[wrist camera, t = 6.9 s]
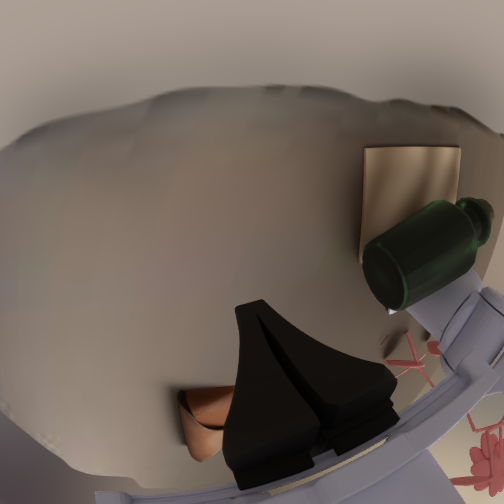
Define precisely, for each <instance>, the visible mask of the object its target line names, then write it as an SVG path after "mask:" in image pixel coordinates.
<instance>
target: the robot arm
mask: <svg viewBox="0 0 504 504" xmlns="http://www.w3.org/2000/svg"><path fill="white" fill-rule="evenodd" d="M405 310H407V311H408V312H409V313H410V314H411V315H412V316H413V317H414V318H415V319H416V320H417V321H418V322H419V323H420V324H421V325H422V326H423V327H424V328H425V329H426V330H427V331H428V332H429V333H430V334H431V335H432V336H433V337H434V338H435V339H436V340H437V341H438V342H439V343H440V344H439V345H438V347H437V348H438V349H439V350H440V351H441V354H440V362H441V367H442V369H443V371H444V372H445V374H446V375H447V376H448V377H447V378H445V379H444V380H443V381H442V382H440V383H439V384H438V385H437V386H435V387H434V388H433V389H432V390H430V391H429V392H428V393H426V394H425V395H423V396H422V397H421V398H420V399H418V400H417V401H415V402H414V403H412V404H411V405H409V406H408V407H406V408H405V409H403V410H402V411H400V412H399V413H396V412H395V410H394V409H393V408H392V406H393V402H392V401H391V399H390V397H391V395H392V393H393V392H394V390H395V388H396V386H397V379H396V378H395V376H394V375H393V374H392V373H391V371H390V370H389V369H388V368H386V367H385V365H384V364H380V363H375V362H371V361H366V360H363V359H359V358H356V357H353V356H350V355H347V354H345V353H342V352H340V351H337V350H335V349H333V348H330V347H328V346H326V345H324V344H322V343H320V342H319V341H317V340H315V339H313V338H312V337H310V336H308V335H307V334H305V333H304V332H302V331H301V330H299V329H298V328H296V327H295V326H294V325H292V324H291V323H290V322H288V321H287V320H286V319H284V318H283V317H282V316H281V315H279V314H278V313H277V312H276V311H275V310H274V309H273V308H271V307H270V306H269V305H268V304H267V303H266V302H265V301H264V300H262V299H260V300H257V301H253V302H250V303H246V304H243V305H239V306H236V308H235V314H236V319H237V324H238V329H239V337H240V346H239V363H238V372H237V378H236V384H235V389H234V393H233V397H232V401H231V405H230V408H229V412H228V415H227V418H226V421H225V423H224V430H223V440H222V450H223V455H224V458H225V461H226V464H227V466H228V467H229V468H230V469H231V470H232V472H233V474H234V477H235V480H236V482H235V483H231V484H227V485H222V486H217V487H212V488H206V489H200V490H194V491H186V492H178V493H169V494H156V495H135V496H134V495H129V494H127V493H124V492H118V491H97V490H96V491H95V500H96V504H466V503H465V502H464V500H463V499H462V497H461V496H460V494H459V493H458V491H457V490H456V489H455V487H454V486H453V484H452V483H451V481H450V480H449V478H448V477H447V476H446V474H445V473H444V471H443V470H442V468H441V467H440V466H439V464H438V463H437V461H436V460H435V459H434V457H433V456H432V454H431V453H430V452H429V450H428V448H429V447H430V446H432V445H433V444H434V443H436V442H437V441H438V440H439V439H440V438H442V437H443V436H444V435H445V434H446V433H447V432H448V431H450V430H451V429H452V428H453V427H454V426H455V425H456V424H457V423H458V422H459V421H460V420H461V419H462V418H463V417H464V416H466V415H467V414H468V413H469V411H471V409H472V408H474V406H475V405H476V404H477V403H478V402H479V401H480V400H481V399H482V398H483V397H484V396H487V395H491V394H494V393H498V392H502V393H503V394H504V352H503V354H502V356H501V357H500V358H499V359H498V361H497V362H496V364H495V365H494V366H493V367H491V366H490V365H491V363H492V362H493V361H494V359H495V358H496V357H497V355H498V354H499V353H500V351H501V350H502V348H503V346H504V296H503V295H502V294H501V293H499V292H498V291H496V290H495V289H493V288H491V287H486V288H483V284H482V281H481V279H480V277H479V276H478V274H477V273H476V272H475V271H474V270H473V269H471V268H470V270H469V271H468V272H467V273H466V274H464V275H462V276H461V277H459V278H458V279H456V280H455V281H453V282H451V283H450V284H448V285H446V286H445V287H443V288H441V289H440V290H438V291H436V292H435V293H433V294H431V295H429V296H428V297H426V298H424V299H422V300H421V301H419V302H417V303H415V304H413V305H411V306H410V307H408V308H406V309H405ZM394 312H396V311H394V310H391V309H389V308H388V313H389V314H392V313H394ZM391 434H392V435H391ZM388 436H389V437H388ZM387 437H388V438H387ZM385 438H387V439H386V441H385V442H384V444H382V445H380V446H379V447H377V448H375V449H374V450H372V451H370V452H368V453H367V454H365V455H363V456H361V457H359V458H358V459H355V460H353V461H351V462H349V463H348V464H345V465H343V466H342V467H339V468H337V469H336V470H333V471H331V472H329V473H327V474H325V475H323V476H321V477H318V478H316V479H314V480H312V481H309V482H307V483H305V484H302V485H300V486H298V487H295V488H293V489H290V490H288V491H285V492H282V493H280V494H277V495H274V496H271V495H270V493H268V492H265V491H269V490H272V489H275V488H278V487H281V486H284V485H287V484H290V483H293V482H296V481H299V480H301V479H304V478H306V477H309V476H311V475H314V474H316V473H318V472H321V471H323V470H326V469H328V468H330V467H332V466H335V465H337V464H339V463H341V462H343V461H345V460H347V459H349V458H351V457H353V456H355V455H357V454H359V453H360V452H362V451H364V450H366V449H368V448H370V447H371V446H373V445H375V444H377V443H378V442H380V441H382V440H383V439H385ZM262 492H265V493H262ZM258 493H260V494H258Z"/></svg>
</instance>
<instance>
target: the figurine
mask: <svg viewBox="0 0 504 504" xmlns="http://www.w3.org/2000/svg"><path fill="white" fill-rule="evenodd" d="M406 335H407V338H408V341H409V344H410V347H411V350H412V353H413V356H414V359H415V361H405V360H388V361H385V363H387V362H388V363H387V364H390V365H393V366H399V367H409V369H411V368H416V369H417V368H418V370H419V371H420V372H421V373H422V375H423V376H424V377H425V378H426V380H427V381H428V382H429V384H430V385H431V386H432V387H433V388H434V387H435V386H434V385H433V384H432V382H431V381H430V380H429V378H428V377H427V376H426V375H425V373H424V372H423V371H422V370H421V369H420V367H424V366H425V364H424V363H421V362H419V360H418V357H417V354H416V351H415V348H414V345H413V342H412V339H411V336H410V333H409V332H407V333H406ZM387 337H388V335H387ZM387 337H386V338H387ZM386 338H385V339H386ZM385 339H384V341H385ZM384 341H383V342H384ZM383 342H382V343H383ZM382 343H381V345H382ZM439 344H440V343H439V342H438V341H432V342H427V346H428V351H429V353H430V354H432V355H434V356H440V354H441V351H440V350H439V349H438V348H437V347H438V345H439ZM425 355H426V354H425ZM425 355H424V356H425ZM424 356H423V357H424ZM423 357H422V358H423ZM422 358H421V359H422ZM421 359H420V360H421ZM406 371H408V369H407V370H406ZM404 372H405V371H404ZM404 372H403V373H404ZM401 374H402V373H401ZM401 374H400V375H401ZM398 376H399V375H398ZM396 377H397V376H396ZM396 377H395V378H396ZM467 418H468V420H469V423H470V425H471V428H472V431H473V432H474V431H476V433H477V432H480V431H484V430H486V431H485V433H483V434H482V436H481V449H479V448H477V447H472V448H471V449H470V457H471V460H472V462H473V463H474V464H473V466H472V467H471V473H472V474H473V475H474V476H472V477H471V476H470V477H459V478H452V479H449V480H450V481H451V483H452V484H453V485H463V486H468V485H474V489H475V490H476V491H482V490H483V489H485V488H487V487H488V486H489V494H490V496H491V497H493V496H495V495H496V494H497V492H498V491H499V492H501V491H502V490H503V488H504V439H502V426H503V425H504V422H503V421H504V416H503V418H502V420H501V421H500V422H499V423H498V424H495V425H491V426H488V427H484V428H480V429H477V430H476V429H475V427H474V424H473V422H472V420H471V418H470V415H469V413H468V414H467ZM498 427H499V441H498V438H497V436H496V435H495V434H491V435H490V434H489V432H491V431H493V430H495V429H497V428H498ZM487 429H488V430H487Z"/></svg>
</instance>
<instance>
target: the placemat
mask: <svg viewBox="0 0 504 504" xmlns="http://www.w3.org/2000/svg"><path fill="white" fill-rule="evenodd" d="M460 158H461V148H458V147H374V148H364V183H363V207H362V223H361V236H360V247H359V257H358V263H359V264H361V263H362V255H363V252H364V248H365V246H366V244H368V243H369V242H370V241H371V240H373V239H374V238H376V237H378V236H379V235H381V234H382V233H384V232H386V231H387V230H389V229H390V228H392V227H394V226H395V225H397V224H398V223H400V222H402V221H403V220H405V219H406V218H408V217H409V216H411V215H412V214H414V213H416V212H417V211H419V210H420V209H422V208H423V207H425V206H426V205H428V204H429V203H431V202H432V201H436V200H446V201H448V202H450V203H453V204H455V201H456V194H457V187H458V179H459V169H460Z"/></svg>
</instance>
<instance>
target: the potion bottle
mask: <svg viewBox="0 0 504 504" xmlns="http://www.w3.org/2000/svg"><path fill="white" fill-rule="evenodd" d="M494 219H495V215H494V210H493V208H492V206H491V205H490V204H489V203H488V202H487V201H486V200H484V199H474V198H470V197H468V198H461V199H460V200H458V201H457V202H456V204H453V203H450V202H448V201H446V200H436V201H432V202H431V203H429V204H428V205H426V206H425V207H423V208H422V209H420V210H419V211H417V212H416V213H414V214H412V215H411V216H409V217H408V218H406V219H405V220H403V221H402V222H400V223H398V224H397V225H395V226H394V227H392V228H390V229H389V230H387V231H386V232H384V233H382V234H381V235H379V236H378V237H376V238H374V239H373V240H371V241H370V242H369V243H368V244H366V246H365V248H364V252H363V255H362V268H363V271H364V275H365V279H366V281H367V283H368V285H369V287H370V290H371V291H372V293H373V294H374V296H375V297H376V299H377V300H378V301H379V302H380V303H381V304H382V305H383V306H385V307H386V308H389V309H391V310H394V311H399V310H404V309H406V308H408V307H410V306H411V305H413V304H415V303H417V302H419V301H421V300H422V299H424V298H426V297H428V296H429V295H431V294H433V293H435V292H436V291H438V290H440V289H441V288H443V287H445V286H446V285H448V284H450V283H451V282H453V281H455V280H456V279H458V278H459V277H461V276H462V275H464V274H466V273H467V272H468V271H469V270H470V268H471V267H472V266H473V264H474V263H475V259H476V254H477V249H478V247H480V246H482V245H484V244H485V243H486V241H487V240H488V238H489V236H490V232H491V227H492V225H493V223H494Z"/></svg>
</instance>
